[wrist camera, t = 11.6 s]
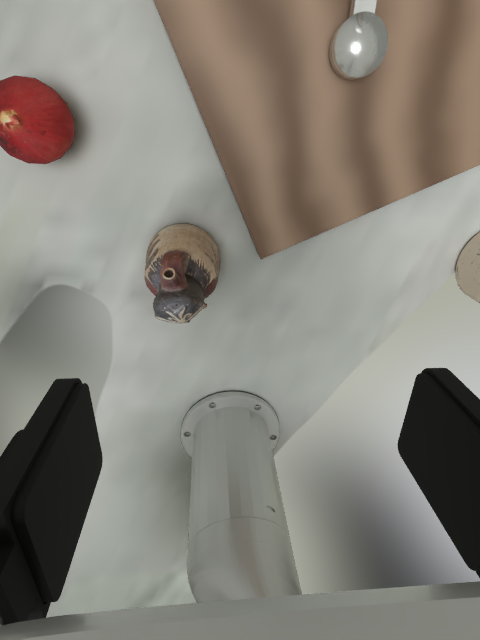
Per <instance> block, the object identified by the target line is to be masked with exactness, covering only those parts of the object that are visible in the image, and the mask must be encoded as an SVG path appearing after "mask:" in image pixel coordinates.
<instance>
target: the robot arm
mask: <svg viewBox="0 0 480 640" xmlns="http://www.w3.org/2000/svg"><path fill="white" fill-rule="evenodd" d="M279 434H280V428H279V422H278V418H277V416H276V414H275V412H274V410H273V409H272V407H271V406H270V405H269V404H268V403H266V402H265V401H264V400H263V399H261V398H259V397H257V396H255V395H252V394H248V393H244V392H222V393H217V394H214V395H211V396H208V397H206V398H204V399H202V400H201V401H199V402H198V403H196V404H195V405H194V406H193V407H192V408H191V409H190V410H189V411H188V412H187V414H186V416H185V418H184V420H183V423H182V427H181V441H182V445H183V447H184V449H185V451H186V452H187V454H188V455H189V456H190V457H191V458H192V471H191V492H190V512H189V533H188V555H187V573H188V580H189V585H190V588H191V591H192V594H193V596H194V598H195V600H196V602H197V603H192V604H180V605H168V606H156V607H144V608H133V609H123V610H113V611H103V612H93V613H83V614H73V615H63V616H55V617H49V618H46V615H47V612H48V609H49V606H50V603H51V602H56V601H57V600H58V599H59V597H60V595H61V592H62V589H63V586H64V583H65V580H66V577H67V574H68V571H69V568H70V565H71V561H72V558H73V555H74V552H75V549H76V546H77V543H78V540H79V537H80V533H81V530H82V527H83V524H84V521H85V518H86V515H87V512H88V509H89V506H90V502H91V499H92V496H93V493H94V490H95V487H96V484H97V481H98V478H99V474H100V471H101V468H102V452H101V447H100V442H99V437H98V432H97V427H96V422H95V417H94V412H93V407H92V402H91V397H90V391H89V387H88V385H87V384H86V383H84V384H82V382H81V380H80V379H79V378H74V379H73V378H72V379H56V380H55V381H54V382H53V384H52V386H51V387H50V389H49V391H48V392H47V394H46V395H45V397H44V398H43V400H42V402H41V403H40V405H39V406H38V408H37V409H36V411H35V413H34V414H33V416H32V417H31V419H30V420H29V422H28V424H27V425H26V427H25V429H24V430H20V431H19V432H17V433H16V434H15V436H14V437H13V438H12V440H11V441H10V443H9V444H8V446H7V447H6V449H5V450H4V452H3V454H2V455H1V457H0V640H480V582H467V583H454V584H440V585H425V586H411V587H397V588H383V589H370V590H357V591H343V592H330V593H317V594H304V595H302V592H301V587H300V583H299V579H298V574H297V570H296V566H295V561H294V556H293V551H292V547H291V542H290V537H289V531H288V526H287V522H286V517H285V512H284V507H283V502H282V497H281V492H280V487H279V482H278V477H277V472H276V468H275V463H274V458H273V453H272V451H273V449H274V448H275V446H276V444H277V442H278V439H279ZM398 450H399V454H400V455H401V457H402V459H403V461H404V462H405V464H406V466H407V467H408V469H409V470H410V472H411V474H412V475H413V477H414V479H415V480H416V482H417V484H418V485H419V487H420V489H421V490H422V492H423V494H424V495H425V497H426V499H427V500H428V502H429V503H430V505H431V507H432V509H433V510H434V512H435V513H436V515H437V517H438V518H439V520H440V522H441V523H442V525H443V527H444V528H445V530H446V532H447V533H448V535H449V536H450V538H451V540H452V542H453V543H454V545H455V546H456V548H457V550H458V551H459V553H460V555H461V556H462V558H463V560H464V561H465V563H466V564H467V566H468V567H469V568H470V569H472V570H474V571H476V573H477V574H478V576H479V578H480V399H479V398H478V397H476V395H474V394H473V393H472V392H471V391H470V390H469V389H468V388H467V387H466V386H465V385H464V384H463V383H462V382H461V381H460V380H459V379H458V378H457V377H456V376H455V375H454V374H453V373H452V372H451V371H449V370H448V369H447V368H426V369H424V370H423V371H422V373H421V374H418V375H417V377H416V379H415V383H414V387H413V390H412V394H411V397H410V401H409V404H408V408H407V412H406V415H405V419H404V422H403V426H402V429H401V433H400V437H399V440H398Z"/></svg>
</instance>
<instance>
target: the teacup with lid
mask: <svg viewBox="0 0 480 640" xmlns="http://www.w3.org/2000/svg"><path fill="white" fill-rule="evenodd" d="M456 280H457V283H458V286H459V287H460V289H461V290H462V291H463V292H464V293H465V294H466V295H468V296H469V297H471V298H472V299H474V300H476V301H477V302H479V303H480V232H479V233H478V234H477V235H475V236H474V237H473V238H472V239H471V240H470V241H469V242H468V244H467V245H466V246H465V247H464V249H463V251H462V252H461V254H460V256H459V259H458V262H457V265H456Z"/></svg>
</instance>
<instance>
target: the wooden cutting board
mask: <svg viewBox="0 0 480 640" xmlns="http://www.w3.org/2000/svg"><path fill="white" fill-rule="evenodd" d="M154 2H155V4H156V6H157V9H158V11H159V14H160V16H161V19H162V21H163V23H164V26H165V28H166V31H167V33H168V36H169V38H170V40H171V43H172V45H173V48H174V50H175V52H176V55H177V57H178V60H179V62H180V65H181V67H182V69H183V72H184V74H185V77H186V79H187V82H188V84H189V86H190V89H191V91H192V94H193V96H194V99H195V101H196V103H197V106H198V108H199V111H200V113H201V115H202V118H203V120H204V123H205V125H206V128H207V130H208V132H209V135H210V137H211V140H212V142H213V145H214V147H215V149H216V152H217V154H218V157H219V159H220V162H221V164H222V166H223V169H224V171H225V174H226V176H227V178H228V181H229V183H230V186H231V188H232V191H233V193H234V195H235V198H236V200H237V203H238V205H239V208H240V210H241V212H242V215H243V217H244V220H245V222H246V225H247V227H248V229H249V232H250V234H251V237H252V239H253V241H254V244H255V246H256V249H257V251H258V254H259V256H260V258H261V259H263V258H265V257H267V256H270V255H272V254H274V253H277V252H279V251H281V250H284V249H286V248H288V247H291V246H293V245H295V244H297V243H300V242H302V241H304V240H307V239H309V238H311V237H314V236H316V235H318V234H321V233H323V232H325V231H328V230H330V229H332V228H335V227H337V226H339V225H341V224H344V223H346V222H348V221H351V220H353V219H355V218H358V217H360V216H362V215H365V214H367V213H369V212H372V211H374V210H376V209H379V208H381V207H383V206H385V205H388V204H390V203H392V202H395V201H397V200H399V199H402V198H404V197H406V196H409V195H411V194H413V193H416V192H418V191H420V190H423V189H425V188H427V187H429V186H432V185H434V184H436V183H439V182H441V181H443V180H446V179H448V178H450V177H453V176H455V175H457V174H460V173H462V172H464V171H467V170H469V169H471V168H473V167H476V166H478V165H480V0H377V3H376V9H375V14H376V15H377V16H379V17H380V18H381V19H382V21H383V22H384V24H385V26H386V29H387V33H388V47H387V51H386V54H385V57H384V59H383V61H382V62H381V64H380V65H379V67H378V68H377V69H376V70H375V71H373V72H372V73H370V74H369V75H366V76H364V77H361V78H358V79H355V80H347V79H344V78H342V77H340V76H339V75H338V74H337V73H336V72H335V71H334V69H333V68H332V65H331V62H330V57H329V48H330V43H331V39H332V37H333V35H334V33H335V31H336V30H337V29H338V27H339V26H340V25H341V24H342V23H344V22H345V21H346V20H347V19H348V18H349V13H350V6H351V0H154Z"/></svg>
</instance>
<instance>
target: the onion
mask: <svg viewBox="0 0 480 640" xmlns="http://www.w3.org/2000/svg"><path fill="white" fill-rule="evenodd" d="M74 134H75V131H74V119H73V116H72V114H71V112H70V110H69V108H68V106H67V104H66V102H65V101H64V100H63V99H62V98H61V97H60V96H59V95H58V93H57V92H56V91H55V90H53V89H52V88H51V87H49V86H47V85H46V84H44V83H42V82H41V81H39V80H37V79H35V78H28V77H22V76H12V77H9V78H6V79H4V80H1V81H0V146H1V147H2V148H3V149H4V150H5V151H6V152H7V153H8V154H9V155H11V156H13V157H15V158H17V159H20V160H22V161H24V162H26V163H38V164H47V163H50V162H53V161H55V160H57V159H60V158H61V157H62V156H63V155H64V154H65V152H66V151H67V150H68V149H69V148H70V147H71V145H72V141H73V138H74Z"/></svg>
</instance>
